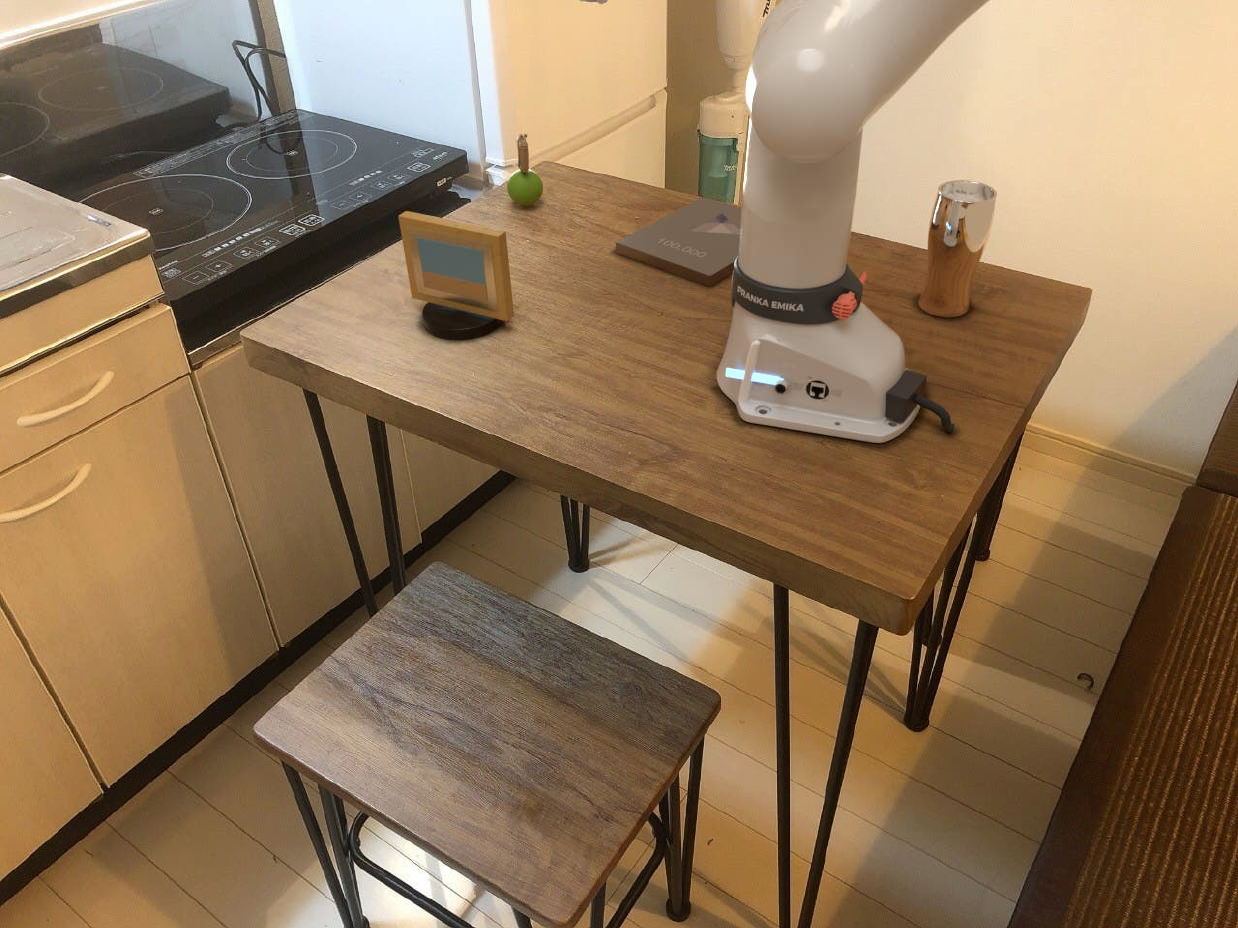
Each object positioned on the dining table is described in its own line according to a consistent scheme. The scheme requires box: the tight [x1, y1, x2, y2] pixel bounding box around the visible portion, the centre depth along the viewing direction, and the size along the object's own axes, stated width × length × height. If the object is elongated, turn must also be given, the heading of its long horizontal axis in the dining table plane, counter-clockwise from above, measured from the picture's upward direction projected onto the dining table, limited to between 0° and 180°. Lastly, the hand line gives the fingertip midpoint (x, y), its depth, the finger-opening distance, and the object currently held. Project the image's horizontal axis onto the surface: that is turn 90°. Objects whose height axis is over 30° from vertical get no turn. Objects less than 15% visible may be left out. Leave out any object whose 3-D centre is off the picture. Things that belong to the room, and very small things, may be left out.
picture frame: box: [397, 210, 515, 322], centre depth 116 cm, size 14×2×11 cm, turn 64°
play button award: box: [615, 196, 742, 287], centre depth 136 cm, size 16×2×20 cm
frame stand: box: [421, 302, 504, 341], centre depth 120 cm, size 10×10×2 cm
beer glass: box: [917, 179, 998, 318], centre depth 117 cm, size 7×7×15 cm
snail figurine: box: [506, 133, 544, 207], centre depth 144 cm, size 5×6×12 cm
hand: (593, 2), depth 112 cm, fingers closed
